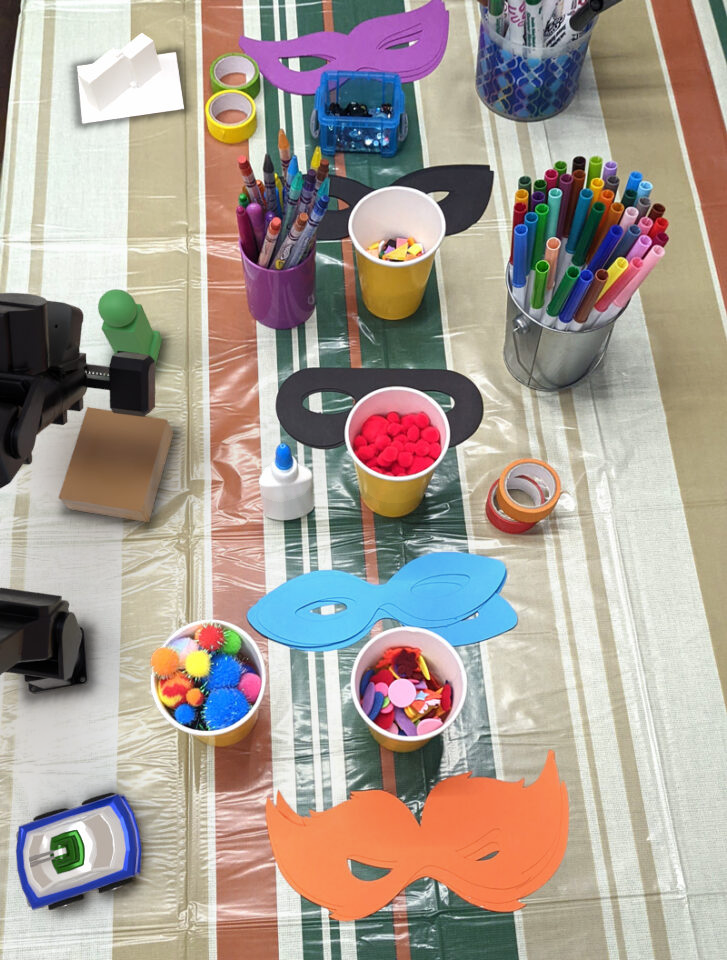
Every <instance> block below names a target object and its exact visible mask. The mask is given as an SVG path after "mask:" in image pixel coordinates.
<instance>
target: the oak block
mask: <svg viewBox="0 0 727 960" xmlns="http://www.w3.org/2000/svg"><path fill="white" fill-rule="evenodd" d="M173 437H174V432H173V429H172V427H171V425H170V424H169V421H168V419H166V418H159V417H152V416H149V415H146V416H145V417H141V416H133V415H125V414H117V413H113V412H112V410H111V409H110V410H109V409H103V408H96V407H90V406H87V407H86V409H85V413H84V416H83V420H82V423H81V426H80V429H79V432H78V435H77V438H76V441H75V444H74V448H73V451H72V454H71V456H70V460H69V464H68V467H67V470H66V472H65V476H64V480H63V482H62V486H61V489H60V491H59V495H58V499H59V500H60V501H61V503H63V504H64V506H66V508H67V509H68V510H73V511H78V512H84V513H90V514H96V515H102V516H107V517H108V516H109V517H115V518H120V519H127V520H132V521H137V522H145V523H149V522H150V519H151V517H152V513H153V509H154V505H155V501H156V498H157V495H158V491H159V487H160V483H161V480H162V477H163V472H164V470H165V469H164V468H165V465H166V461H167V459H168V454H169V451H170V446H171V444H172V439H173Z"/></svg>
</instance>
